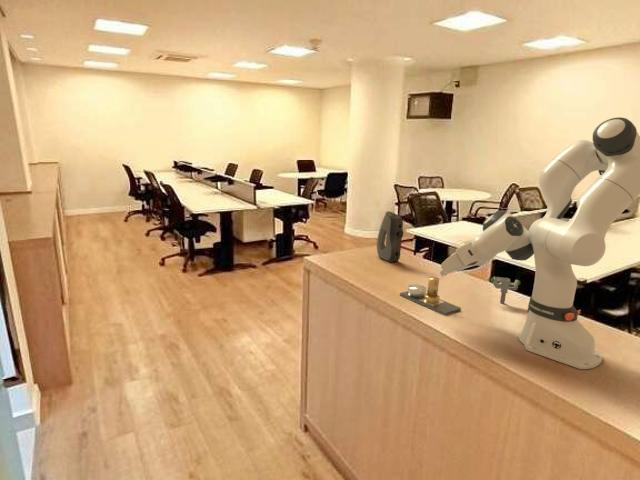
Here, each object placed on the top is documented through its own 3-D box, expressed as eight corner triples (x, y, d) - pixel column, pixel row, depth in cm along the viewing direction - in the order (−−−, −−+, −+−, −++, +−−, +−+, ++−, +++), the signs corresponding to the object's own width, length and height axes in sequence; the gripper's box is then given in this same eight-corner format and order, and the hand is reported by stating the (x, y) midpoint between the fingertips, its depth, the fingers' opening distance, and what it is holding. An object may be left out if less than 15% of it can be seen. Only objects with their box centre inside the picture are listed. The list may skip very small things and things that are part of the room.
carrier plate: (460, 310, 152) (461, 300, 151) (445, 315, 147) (446, 305, 146) (415, 291, 169) (416, 282, 169) (399, 295, 164) (400, 285, 163)
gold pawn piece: (442, 301, 157) (444, 279, 154) (432, 304, 153) (435, 281, 151) (430, 296, 161) (433, 275, 159) (420, 299, 158) (423, 277, 156)
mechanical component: (516, 306, 159) (521, 281, 156) (489, 302, 161) (492, 278, 158) (515, 303, 162) (519, 279, 159) (487, 300, 164) (491, 276, 161)
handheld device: (392, 264, 206) (397, 214, 200) (371, 256, 218) (375, 209, 212) (401, 262, 209) (405, 214, 203) (380, 254, 221) (383, 209, 215)
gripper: (489, 240, 145) (462, 260, 155) (455, 248, 133) (427, 269, 143) (499, 255, 143) (471, 274, 153) (465, 264, 131) (437, 284, 141)
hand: (450, 271), depth 148 cm, fingers open, 8 cm apart
